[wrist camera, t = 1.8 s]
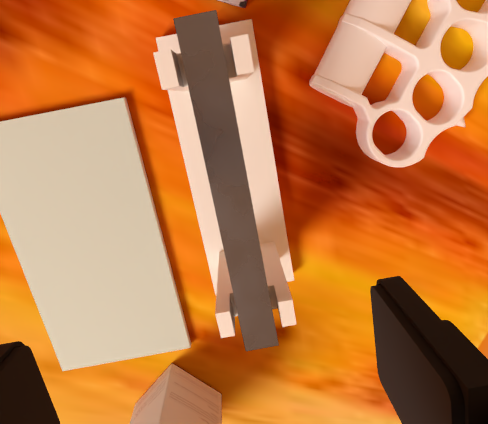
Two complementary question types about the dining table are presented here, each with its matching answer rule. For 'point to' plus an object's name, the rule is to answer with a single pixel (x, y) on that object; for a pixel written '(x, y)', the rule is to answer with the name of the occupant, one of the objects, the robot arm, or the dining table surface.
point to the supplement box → (178, 401)
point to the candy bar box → (236, 2)
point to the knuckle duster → (413, 69)
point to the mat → (89, 234)
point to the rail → (227, 173)
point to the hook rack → (256, 162)
